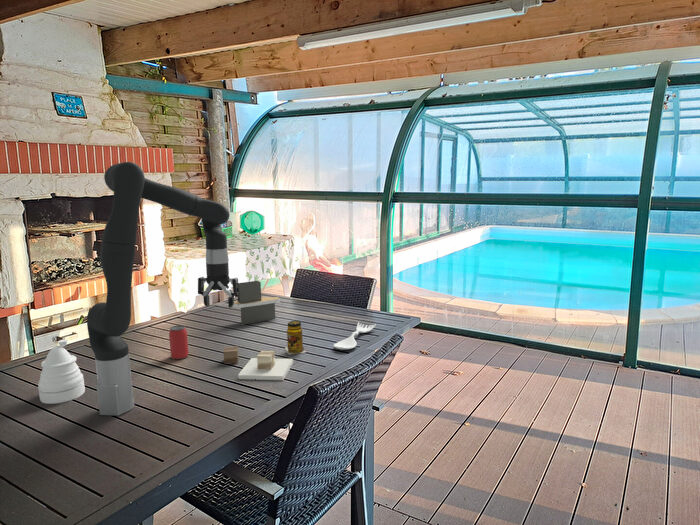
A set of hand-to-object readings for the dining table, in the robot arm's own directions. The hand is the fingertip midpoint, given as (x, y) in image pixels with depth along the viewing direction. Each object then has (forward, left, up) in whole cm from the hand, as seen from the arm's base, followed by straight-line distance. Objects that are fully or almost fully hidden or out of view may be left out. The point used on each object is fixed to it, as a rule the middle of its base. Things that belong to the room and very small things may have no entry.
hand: (219, 306), depth 174 cm
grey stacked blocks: (+61, +6, -25) cm, 67 cm away
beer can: (+13, +22, -25) cm, 36 cm away
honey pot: (-22, +46, -25) cm, 57 cm away
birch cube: (+2, -15, -23) cm, 28 cm away
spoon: (+37, -44, -25) cm, 63 cm away
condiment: (+23, -22, -25) cm, 40 cm away
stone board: (+2, -16, -24) cm, 29 cm away
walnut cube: (+10, 0, -25) cm, 26 cm away
